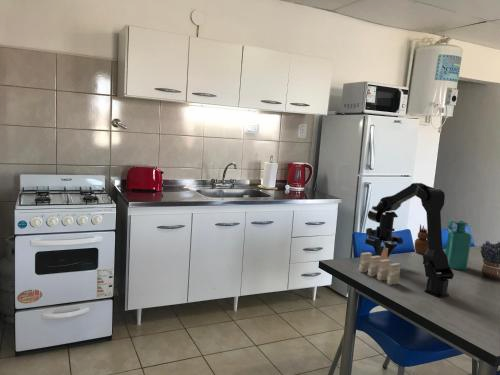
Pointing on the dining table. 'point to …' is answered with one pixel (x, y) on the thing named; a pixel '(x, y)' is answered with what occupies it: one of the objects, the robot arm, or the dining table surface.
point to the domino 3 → (384, 254)
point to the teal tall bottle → (458, 245)
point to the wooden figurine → (421, 241)
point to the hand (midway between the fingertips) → (381, 259)
